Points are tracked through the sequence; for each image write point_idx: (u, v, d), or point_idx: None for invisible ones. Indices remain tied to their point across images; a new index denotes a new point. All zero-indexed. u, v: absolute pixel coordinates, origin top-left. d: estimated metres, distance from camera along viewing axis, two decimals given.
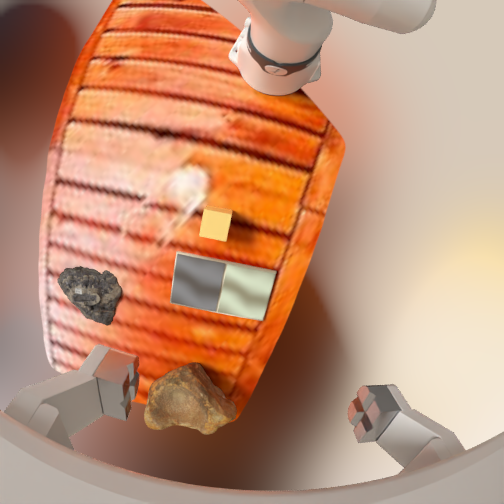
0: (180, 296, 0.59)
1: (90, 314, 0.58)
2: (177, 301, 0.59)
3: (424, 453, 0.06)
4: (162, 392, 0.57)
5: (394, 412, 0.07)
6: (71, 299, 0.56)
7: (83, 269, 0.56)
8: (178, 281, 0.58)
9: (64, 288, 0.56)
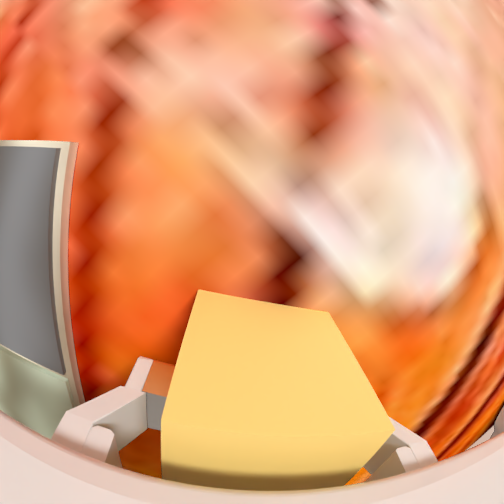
0: None
1: None
2: None
3: (389, 462, 0.05)
4: None
5: None
6: None
7: None
8: None
9: None
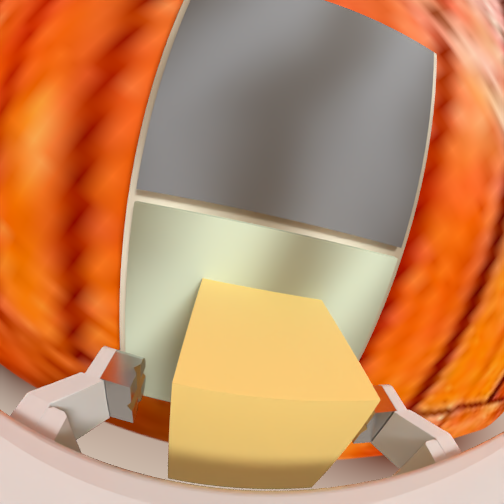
0: (229, 10, 0.08)
1: None
2: None
3: (419, 454, 0.06)
4: None
5: (389, 413, 0.07)
6: None
7: None
8: (317, 15, 0.08)
9: None
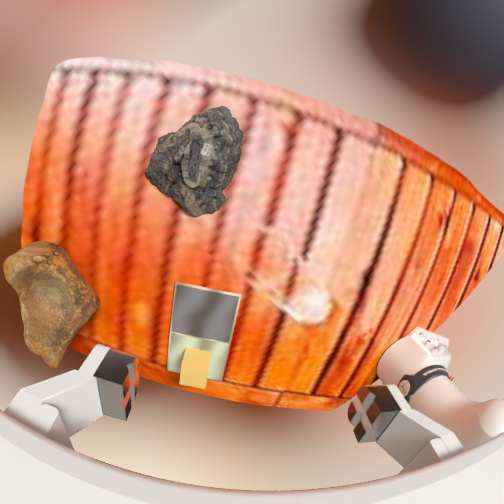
0: (185, 296, 0.49)
1: (166, 154, 0.41)
2: (179, 292, 0.49)
3: (424, 453, 0.06)
4: (55, 278, 0.39)
5: (394, 412, 0.07)
6: (195, 131, 0.40)
7: (235, 165, 0.43)
8: (205, 296, 0.49)
9: (213, 119, 0.40)
